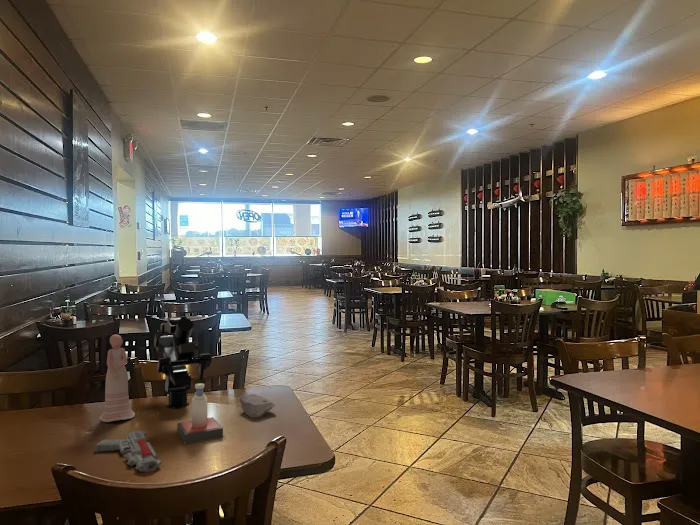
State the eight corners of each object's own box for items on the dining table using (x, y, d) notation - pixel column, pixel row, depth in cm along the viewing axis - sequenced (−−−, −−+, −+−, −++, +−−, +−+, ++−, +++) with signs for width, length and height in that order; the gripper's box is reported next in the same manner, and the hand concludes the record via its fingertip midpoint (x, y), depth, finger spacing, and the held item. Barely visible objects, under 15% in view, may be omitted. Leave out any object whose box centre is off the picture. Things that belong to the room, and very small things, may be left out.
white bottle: (189, 427, 168) (189, 386, 167) (195, 422, 173) (195, 382, 172) (203, 427, 168) (203, 387, 167) (209, 422, 172) (209, 382, 172)
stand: (177, 431, 172) (177, 422, 172) (212, 425, 178) (212, 416, 178) (185, 444, 162) (185, 434, 162) (223, 437, 168) (223, 427, 168)
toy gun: (103, 472, 136) (162, 457, 144) (93, 439, 159) (145, 428, 167) (104, 485, 137) (163, 470, 144) (94, 450, 159) (145, 438, 167)
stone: (277, 413, 192) (277, 397, 192) (256, 419, 185) (256, 403, 185) (255, 406, 201) (255, 391, 201) (235, 412, 194) (234, 396, 194)
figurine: (114, 410, 194) (114, 331, 193) (144, 412, 191) (143, 332, 190) (89, 421, 181) (88, 337, 180) (121, 424, 179) (120, 339, 177)
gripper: (158, 336, 183) (164, 374, 174) (210, 332, 192) (219, 367, 183) (154, 353, 190) (160, 390, 181) (205, 348, 200) (213, 384, 191)
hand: (188, 382), depth 184 cm, fingers open, 9 cm apart
